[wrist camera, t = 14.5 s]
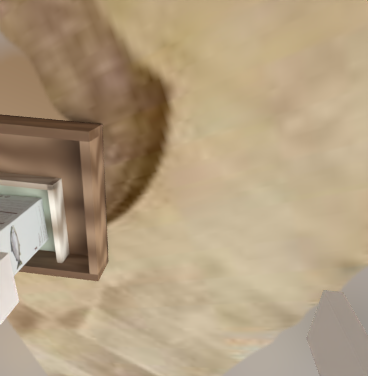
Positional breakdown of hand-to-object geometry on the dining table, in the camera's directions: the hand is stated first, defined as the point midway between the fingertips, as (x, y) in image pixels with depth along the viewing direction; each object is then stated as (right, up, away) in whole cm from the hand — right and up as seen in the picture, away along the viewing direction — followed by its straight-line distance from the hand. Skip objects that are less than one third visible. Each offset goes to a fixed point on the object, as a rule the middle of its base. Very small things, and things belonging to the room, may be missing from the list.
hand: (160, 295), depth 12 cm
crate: (-20, +4, +29) cm, 36 cm away
